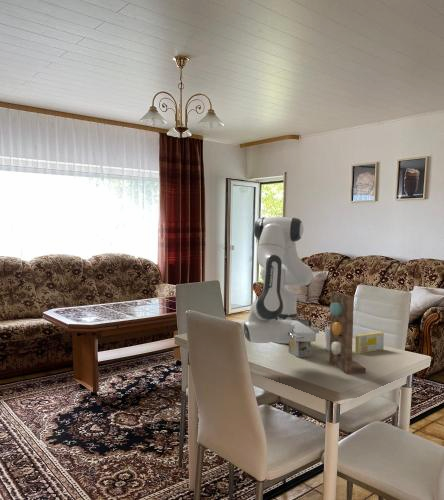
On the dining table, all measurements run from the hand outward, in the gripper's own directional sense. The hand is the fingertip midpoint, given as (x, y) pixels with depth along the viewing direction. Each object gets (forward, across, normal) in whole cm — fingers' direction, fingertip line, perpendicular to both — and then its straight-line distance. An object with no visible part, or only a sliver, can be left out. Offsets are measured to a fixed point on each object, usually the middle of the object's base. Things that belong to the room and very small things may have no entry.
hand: (317, 330), depth 173 cm
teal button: (+8, 0, -6) cm, 10 cm away
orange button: (+9, 0, +2) cm, 9 cm away
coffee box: (0, +19, +16) cm, 25 cm away
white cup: (+19, +25, +16) cm, 36 cm away
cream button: (+9, -1, +10) cm, 13 cm away
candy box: (+35, +21, +16) cm, 44 cm away
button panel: (+13, -1, +16) cm, 20 cm away
